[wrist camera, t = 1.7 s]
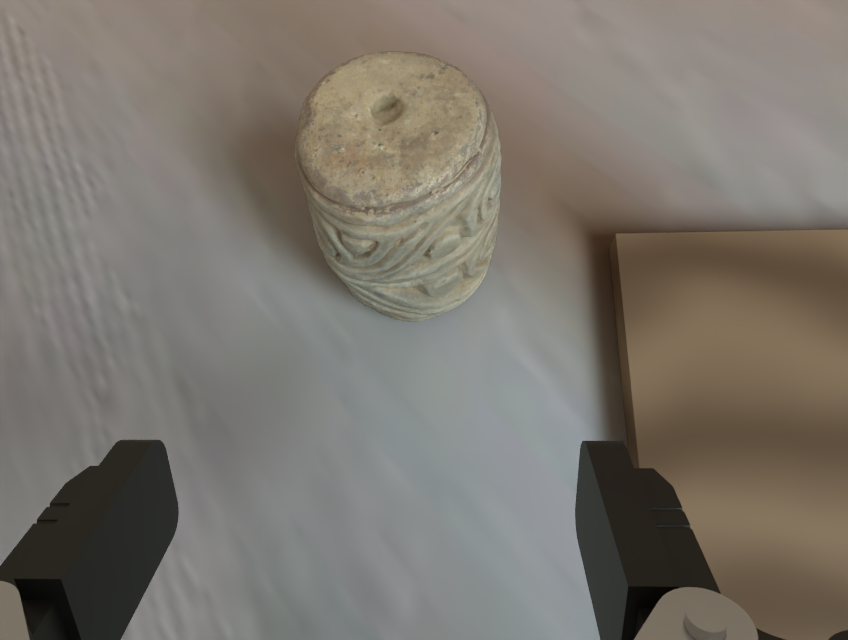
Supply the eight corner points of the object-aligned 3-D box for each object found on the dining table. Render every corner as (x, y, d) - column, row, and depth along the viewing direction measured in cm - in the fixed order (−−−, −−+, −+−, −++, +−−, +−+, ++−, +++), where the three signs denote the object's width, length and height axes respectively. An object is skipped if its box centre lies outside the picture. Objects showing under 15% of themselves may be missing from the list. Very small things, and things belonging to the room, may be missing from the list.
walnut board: (1049, 744, 25) (1085, 754, 24) (656, 738, 26) (667, 748, 24) (917, 243, 32) (938, 227, 30) (608, 248, 32) (615, 233, 31)
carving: (312, 271, 33) (235, 114, 21) (435, 180, 34) (424, -13, 23) (395, 370, 31) (359, 255, 20) (522, 270, 32) (556, 108, 21)
